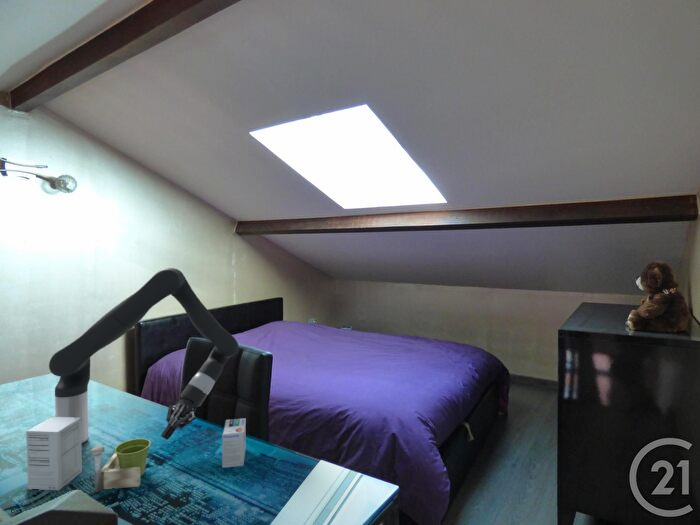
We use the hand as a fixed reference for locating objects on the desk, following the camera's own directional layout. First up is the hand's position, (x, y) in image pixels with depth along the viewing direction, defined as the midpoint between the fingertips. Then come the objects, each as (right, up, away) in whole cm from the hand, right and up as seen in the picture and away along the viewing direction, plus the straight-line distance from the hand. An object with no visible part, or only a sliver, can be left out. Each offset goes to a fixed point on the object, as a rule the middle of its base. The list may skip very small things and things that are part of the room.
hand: (164, 438), depth 124 cm
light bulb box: (+22, -8, +2) cm, 23 cm away
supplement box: (-26, -8, -11) cm, 29 cm away
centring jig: (-9, -8, -12) cm, 17 cm away
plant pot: (-6, -8, -7) cm, 12 cm away
